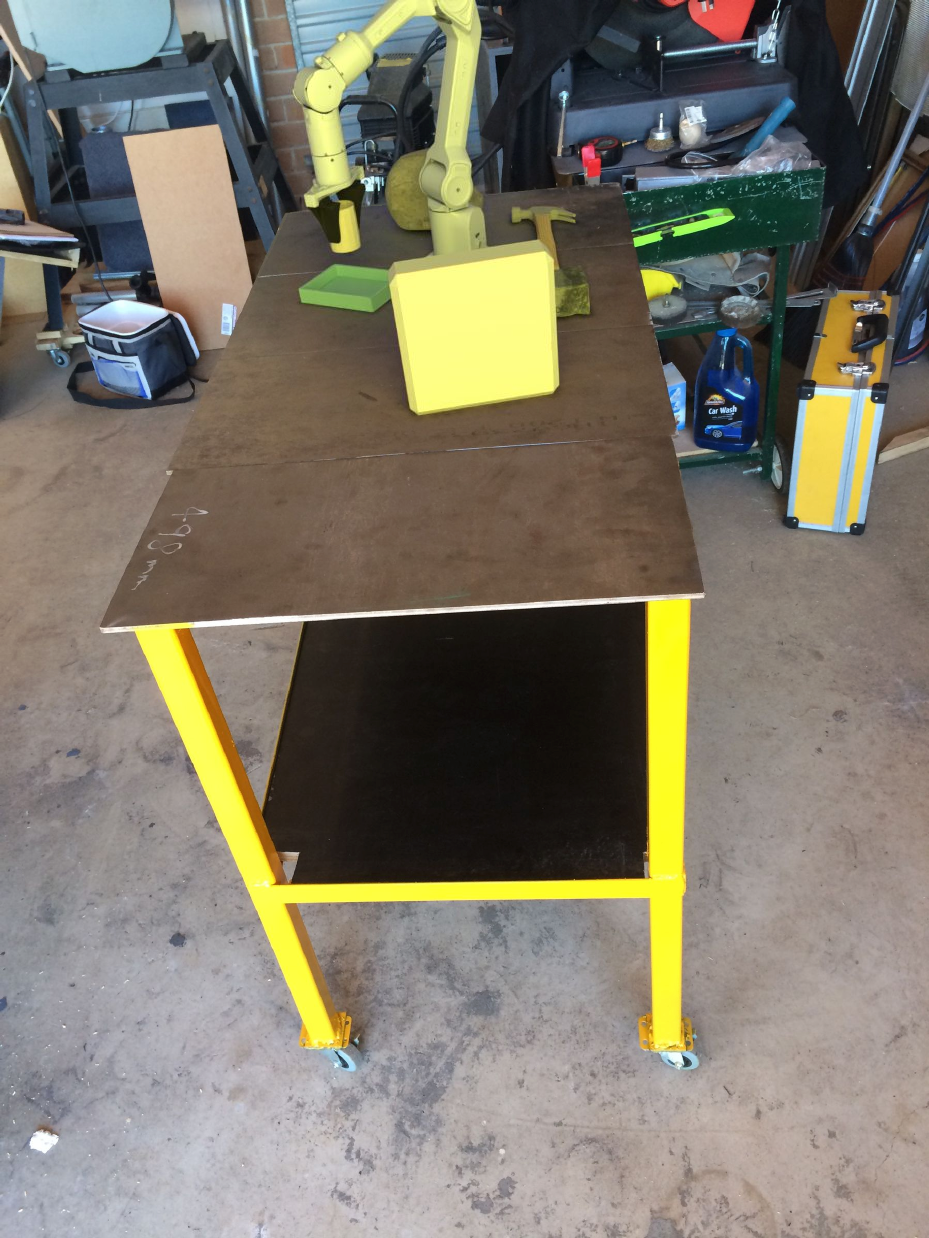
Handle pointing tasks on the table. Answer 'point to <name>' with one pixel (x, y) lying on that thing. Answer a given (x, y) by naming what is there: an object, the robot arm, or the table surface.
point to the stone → (412, 193)
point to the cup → (347, 228)
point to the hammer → (543, 223)
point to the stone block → (571, 292)
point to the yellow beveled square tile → (476, 326)
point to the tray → (348, 288)
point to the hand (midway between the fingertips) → (344, 236)
